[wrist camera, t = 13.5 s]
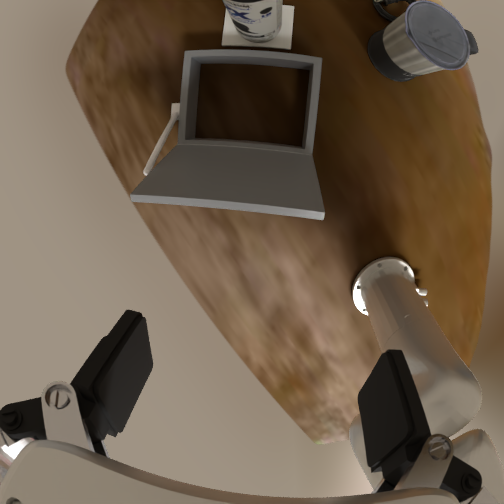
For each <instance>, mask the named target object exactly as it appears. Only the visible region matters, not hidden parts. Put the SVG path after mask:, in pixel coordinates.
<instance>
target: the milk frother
mask: <svg viewBox="0 0 504 504" xmlns="http://www.w3.org/2000/svg"><path fill="white" fill-rule="evenodd" d="M398 1H406V2H408V3H409V4H410V5H409V6H408V8H407V10H406V11H405V12H404V13H403V14H402V15H400V16H399V17H395V16H392V15H391V14H389V13H387V12H386V11H385V10H384V9H383V8H382V7H381V5H380V3H381V2H384V4H385V6H387V5H388V4H391V3H394V2H396V3H398ZM373 4H374V6H375V8H376V10H377V11H378V12H379V14H380V15H381V16H382V17H384V18H385V19H387V20H389V21H391V22H392V23H390V24H389V25H388V26H387V27H385V28H384V29H383V30H380V31H378V32H376V33H374V34H373V35H372V36H371V38H370V40H369V42H368V53H369V57H370V59H371V61H372V63H373V65H374V66H375V68H376V69H377V70H378V71H379V72H380V73H381V74H383V75H384V76H386V77H387V78H389V79H391V80H395V81H400V82H403V81H409V80H411V79H413V78H414V77H416V76H420V75H423V74H428V73H432V72H436V71H440V70H444V69H447V70H457V69H460V68H462V67H463V66H464V65H465V64H466V62H467V61H468V59H469V55H471V54H476V53H478V47H477V43H476V41H475V38H474V36H473V34H472V33H471V32H469V31H468V30H465V29H463V27H462V26H461V24H460V23H459V21H458V20H457V19H456V18H455V17H454V16H453V15H452V14H451V13H450V12H449V11H448V10H446V9H445V8H443V7H442V6H440V5H438V4H436V3H434V2H431V1H426V0H425V1H424V0H420V1H416V0H373Z"/></svg>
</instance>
